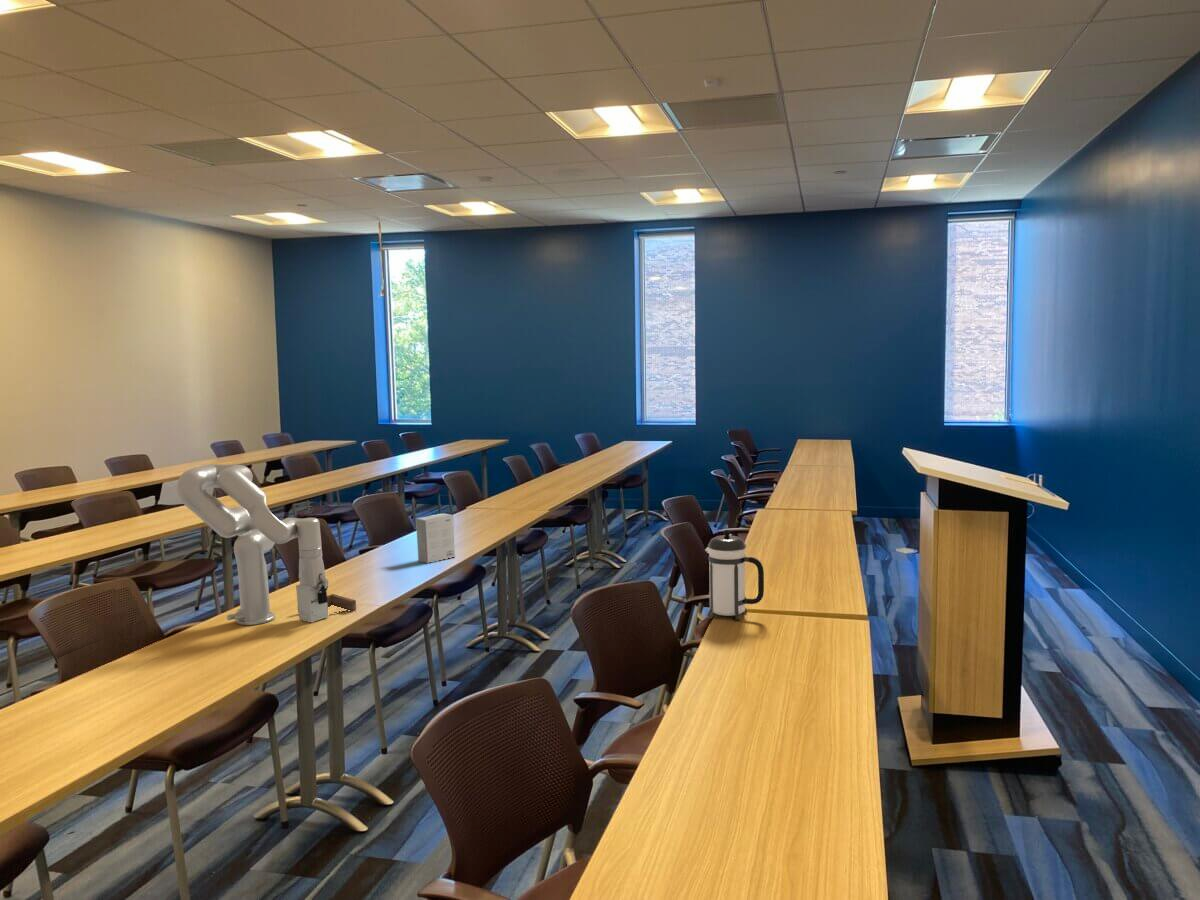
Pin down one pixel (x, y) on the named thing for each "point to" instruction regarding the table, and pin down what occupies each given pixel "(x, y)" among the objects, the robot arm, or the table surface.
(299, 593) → the supplement box
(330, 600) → the arena
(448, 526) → the hard drive box
